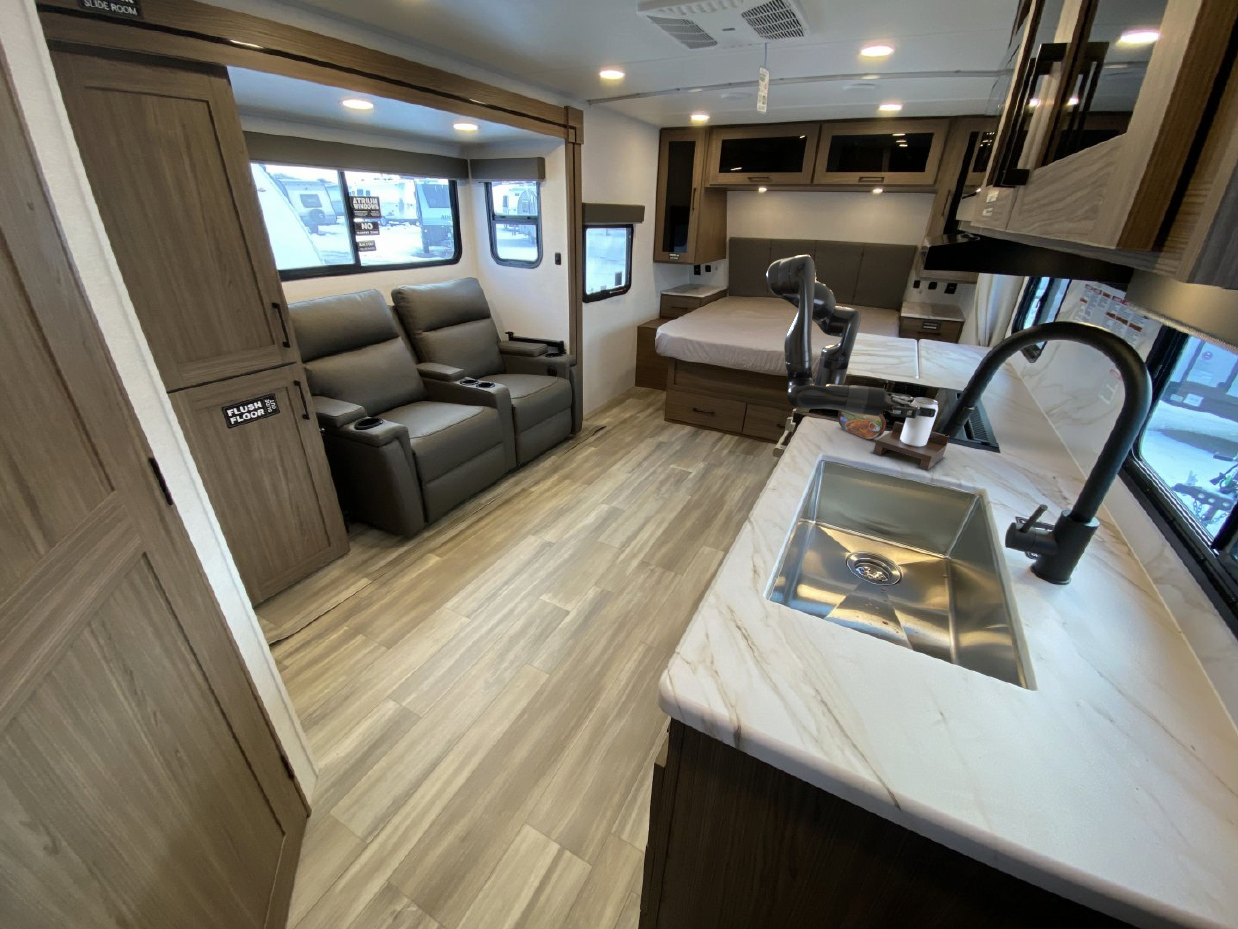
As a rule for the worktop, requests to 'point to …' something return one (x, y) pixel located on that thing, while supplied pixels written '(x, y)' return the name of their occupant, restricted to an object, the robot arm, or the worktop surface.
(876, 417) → the tin
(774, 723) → the worktop surface
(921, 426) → the can
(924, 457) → the bench
